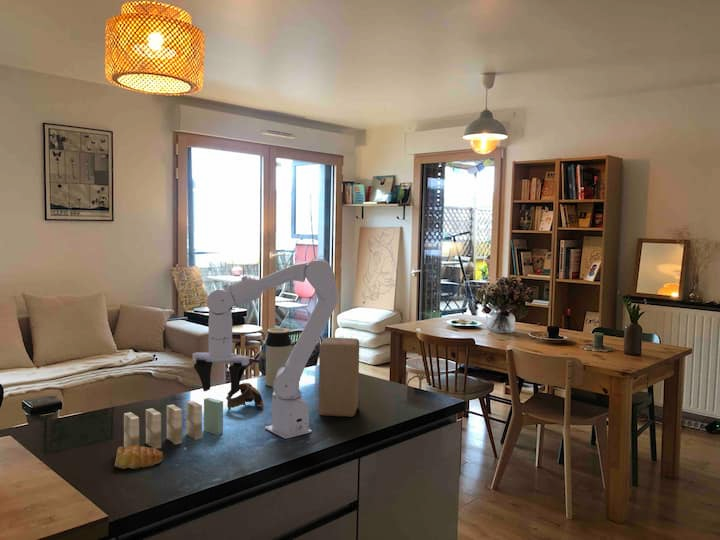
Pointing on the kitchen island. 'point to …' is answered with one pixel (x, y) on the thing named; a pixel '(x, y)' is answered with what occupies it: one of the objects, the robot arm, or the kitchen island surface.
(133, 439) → the domino
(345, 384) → the wooden block
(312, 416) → the kitchen island surface
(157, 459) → the pastry
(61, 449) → the kitchen island surface
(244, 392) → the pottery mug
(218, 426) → the domino
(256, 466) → the kitchen island surface
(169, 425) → the domino
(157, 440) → the domino
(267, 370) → the travel mug
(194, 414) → the domino
